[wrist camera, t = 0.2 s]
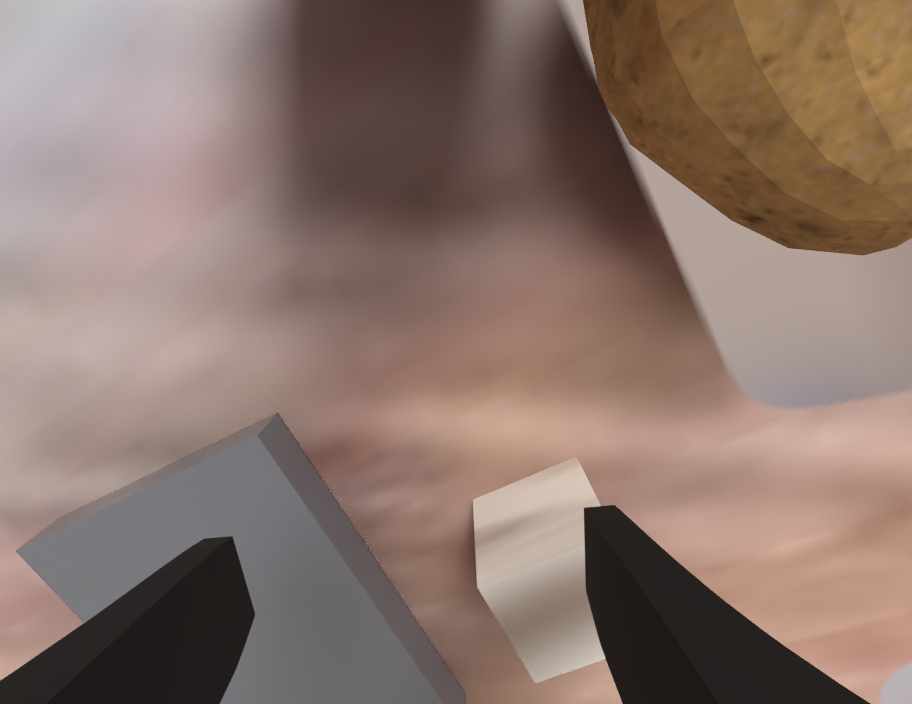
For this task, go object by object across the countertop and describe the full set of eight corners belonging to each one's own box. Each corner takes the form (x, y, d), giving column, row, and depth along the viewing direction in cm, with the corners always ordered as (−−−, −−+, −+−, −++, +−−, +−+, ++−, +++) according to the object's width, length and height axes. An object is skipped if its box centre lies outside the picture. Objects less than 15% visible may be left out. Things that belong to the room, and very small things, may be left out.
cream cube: (616, 540, 21) (663, 638, 16) (517, 579, 21) (535, 683, 17) (575, 455, 19) (614, 533, 15) (472, 498, 20) (477, 587, 15)
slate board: (465, 693, 23) (466, 736, 22) (273, 762, 25) (258, 807, 23) (277, 413, 19) (257, 435, 17) (56, 519, 20) (15, 550, 19)
